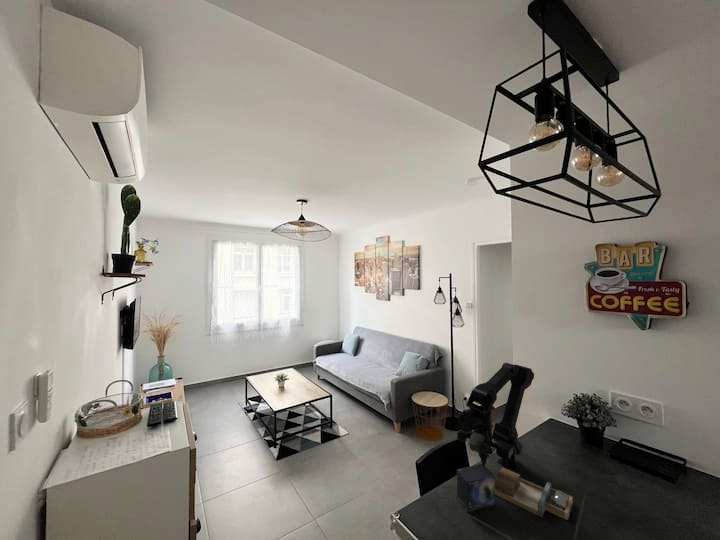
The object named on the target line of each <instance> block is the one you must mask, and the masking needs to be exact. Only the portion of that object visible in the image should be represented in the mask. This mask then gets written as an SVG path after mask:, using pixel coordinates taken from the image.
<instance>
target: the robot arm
mask: <svg viewBox="0 0 720 540" xmlns="http://www.w3.org/2000/svg"><path fill="white" fill-rule="evenodd" d="M534 379H535V373H534V372H533V370H532V368H530V367H526V366H522V365H519V364H516V363H515V364H512V363H509V362H504V363H503V364H502V365H501V367H500V368H499V370H497V371H496V372H495V373H494V374H493V375H492V377H490V379H488V380H487V381H486V382H483V383H479V384H477V385H476V386H474V387H473V388H472V389H471V392H470V394H469V395H470V396H469V397H468V400H467V402H466V405H465V407H467V409H464V410H462V413H461V414H460V415H459V416H458V418H457V422H458V425H459V426H460V429H459V430H458V431H457V433H456V439H457V440H458V441H460V442H463V443H465V442H467V439H468V446H469V450H470V451H472V452H475V453H477V454H478V456H479V458H480V461H481V464H483V465H484V466H485V467H486V465H487V464H488V460H489V458H490V455H491V456H492V455H493V454H494V453H496V455H497V456H498V457H500V458H499V459H498V460H497V464H499V465H502V466H503V467H504V468H506V469H511V470H513V471H515V470H516V469H517V467H518V466H519V464H520V461H518V460H517V455H518V456H520V455H521V453H522V451H523V445H522V444H521V442H519V441H518V440H519V439H518V438H519V433H518V430H517V427H516V425H517V422H518V419H519V418H518V417H519V414H520V410H521V406H522V402H523V398H524V394H525V390H527V389H528V388H529V387H530V386H532V382H533V380H534ZM509 381H510V384H511V385H510V389H509V391H508V392H509V393H508V397H507V400H506V404H505V409H504V411H503V414H502V419H501V420H500V421H499V422H495V424H492V422H493V421H492V416H493V415H492V411H494V410H495V409H496V408H495V406H494V405H495V403H496V402H497V399H498V395H497V394H499V392H500V391H501V390H502V388H504V387H505V385H506V384H507V383H508V382H509Z"/></svg>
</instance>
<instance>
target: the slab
mask: <svg viewBox="0 0 720 540" xmlns="http://www.w3.org/2000/svg"><path fill="white" fill-rule="evenodd" d="M520 478H521V474H519V473H517V472H515V471H512V470H510V469H509V468H506V467H504V466H503V467H501V468H500V470H499V471H498V472H497V474H496V475H495V489H496V490H499V491H501V492H503V493H505V494H507V495H509V496H511V497H514V495H515V493H516V491H517V490H518V488H519V486H520Z"/></svg>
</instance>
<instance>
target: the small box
mask: <svg viewBox="0 0 720 540" xmlns="http://www.w3.org/2000/svg"><path fill="white" fill-rule="evenodd" d="M495 477H496V475H495V474H493V472H492V471H491V470H489V468H488V467H487V466H486V465H485V466H484V465H483V464H482V463H480V464H475V465H469V466H465V467H462V468H461V467H460V468H457V469H456V499H457V501H458V502H459V503H460V504H461V506H462V507H463V509H465V511H466V514H469V513H470V512H475V511H477V510H478V511H479V510H482V509H486V508H489V507H492V506H495V505H496V500H495V498H496V495H495Z"/></svg>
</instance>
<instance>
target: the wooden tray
mask: <svg viewBox="0 0 720 540" xmlns="http://www.w3.org/2000/svg"><path fill="white" fill-rule="evenodd" d="M557 490H558V489H555V488H553V487H552V483H551V482H549V481H547V482H546V483H545V486H544V487H542V486H540V485H538V484H536V483H534V482H531V481H528V480H526V479H524V478H522V477H520V486H519V488H518V490H517V491H516V493H515V495H514V497H511V496H509V495H507V494H505V493H503V492H501V491H499V490H496V489H495V496H498V497H500V498H502V499H504V500H506V501H508V502H510V503H512V504H514V505H516V506H517V507H519V508H523V509H524V510H526V511H528V512H530V513H532V514H534V515H536V516H538V517H540V518H543V517H544V514H545V511H547V512H550V513H551V514H553V515H555V516H557V517H559V518H562V519H563V520H566V521H569V518H570V514H571V511H572V508H573V503H574V501H573V499H574V498H573V496H571V495H570V494H568V493H565V494H566V495H567V497H568V502H567V506H566V509H565V510H562V509H560V508H558V507H556V506H554V505H552V501H553V497H554V494H555V492H556V491H557Z"/></svg>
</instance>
